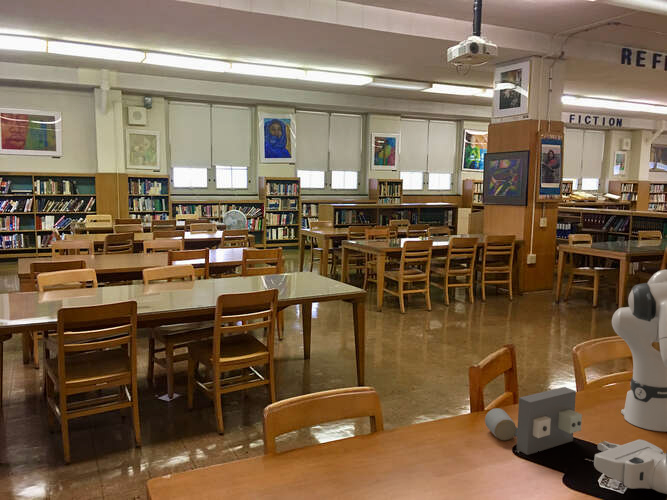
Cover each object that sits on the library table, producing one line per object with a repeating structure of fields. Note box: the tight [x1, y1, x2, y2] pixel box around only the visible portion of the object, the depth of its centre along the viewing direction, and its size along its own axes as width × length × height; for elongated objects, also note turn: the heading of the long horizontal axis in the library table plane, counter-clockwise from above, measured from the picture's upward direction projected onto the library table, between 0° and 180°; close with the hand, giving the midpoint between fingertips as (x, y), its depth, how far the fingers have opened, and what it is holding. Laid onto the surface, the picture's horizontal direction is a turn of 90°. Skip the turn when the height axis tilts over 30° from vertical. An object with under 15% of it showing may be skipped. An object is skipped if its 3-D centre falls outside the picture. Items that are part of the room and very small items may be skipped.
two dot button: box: [558, 409, 583, 434], centre depth 157 cm, size 5×5×5 cm
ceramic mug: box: [484, 408, 518, 441], centre depth 164 cm, size 11×8×8 cm
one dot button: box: [532, 416, 551, 438], centre depth 154 cm, size 5×5×5 cm
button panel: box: [516, 386, 577, 456], centre depth 158 cm, size 20×4×16 cm, turn 118°
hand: (600, 444), depth 143 cm, fingers closed
